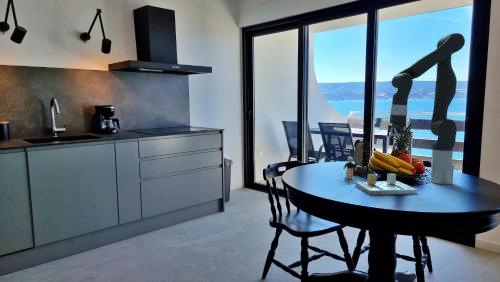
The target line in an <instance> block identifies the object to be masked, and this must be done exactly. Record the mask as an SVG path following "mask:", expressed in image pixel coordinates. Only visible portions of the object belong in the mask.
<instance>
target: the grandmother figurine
mask: <svg viewBox="0 0 500 282" xmlns="http://www.w3.org/2000/svg"><path fill="white" fill-rule="evenodd" d="M346 159H347V162H346V163H345V164H344V165H343V170H346V173H345V177H344V180H349V181H353V180H354V173H353V168H355V170H357V167H358V165H357V166H356V165H355V164H354V163H353V162H354V157H353V156H348V157H347V158H346Z"/></svg>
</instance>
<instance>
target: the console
mask: <svg viewBox="0 0 500 282" xmlns="http://www.w3.org/2000/svg"><path fill="white" fill-rule="evenodd" d="M355 187H356V188H357V189H359V190H361V191H363V192H364V193H366V194H368V195H370V196H374V195H375V196H378V195H379V196H380V195H382V196H383V195H385V196H386V195H417V194H418V189H416V188H415V187H412V186H410V185H408V184H405V183H403V182H401V181H398V180H396V184H389V183H387V180H385V181H384V180H383V181H382V180H381V181H376V184H369V183H367V181H355Z"/></svg>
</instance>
